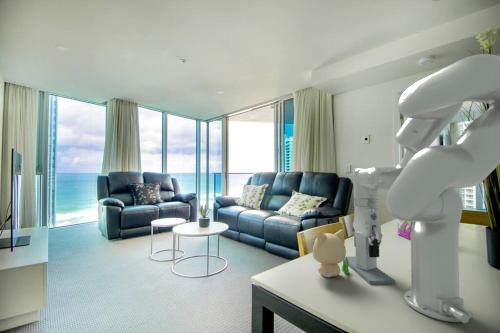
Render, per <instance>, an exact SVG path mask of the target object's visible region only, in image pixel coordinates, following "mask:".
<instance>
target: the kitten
mask: <svg viewBox="0 0 500 333" xmlns="http://www.w3.org/2000/svg"><path fill="white" fill-rule="evenodd" d="M345 234H346V233H345V229H344V228H341V229H339V230H338V231H337V232H334V233H327V232H326V233H323V232H322V231H319V230H318V232H317V237H316V238H315V240H314V241H313V244H312V245H313V246H312V256H313V259H314V260H315V261H316V262H318V263H320V265H319V266H318V269H317V270H318V274H320V275H322V276H323V277H326V278H331V277H337V276H339V275H340V274H341V269H342V271H343V272H344V274H345V275H349V273H350V271H349V267H350V266H349V261H348V259H347V258H346V260H345V262H344V261H343V260H344V258H345V257H347V256H346V255H347V250H346V245H345V244H346V240H345ZM340 263H342V268H341V269H340V266H339V264H340Z"/></svg>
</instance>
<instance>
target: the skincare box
mask: <svg viewBox="0 0 500 333" xmlns="http://www.w3.org/2000/svg"><path fill="white" fill-rule="evenodd" d="M374 239H375V238H372V241H373V240H374ZM369 245H370V242H369V240H368V238H367V237H365V236H363V234H362V233H360V232H355V246H354V247H355V248H354V249H355V256H356V267H358V268H361V269H363V270H370V269H373V268H376V267H377V266H378V264H377V260H378V259H377V258H378V257H369ZM377 268H378V267H377Z"/></svg>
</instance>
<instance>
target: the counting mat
mask: <svg viewBox="0 0 500 333" xmlns="http://www.w3.org/2000/svg"><path fill="white" fill-rule="evenodd" d="M346 258H347V259H348V261H349V266H348V267H349V268H350V269H352V270H353V271H354V272H355V273H356V274H357V275H358V276H360V277H361V278H362V279H363V280H364V281H365V282H366V283H367V284H369V285H396V280H395V279H394V278H392V277H391V276H389V275H388V274H387V273H385V272H384V271H382V270H381V269H380V268H378V267H376V268H373V269H370V270H363V269H361V268H358V267H356V255H355V256H345V258H344V260H343V261H344V262H345V260H346ZM343 261H342V262H343Z"/></svg>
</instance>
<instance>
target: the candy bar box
mask: <svg viewBox="0 0 500 333" xmlns="http://www.w3.org/2000/svg"><path fill="white" fill-rule="evenodd" d="M413 223H414V221H402V220H399V219H397V235H398V236H400V237H403V238H404V237H405V238H404V239H407V240H409V241H411V229H412V225H413Z"/></svg>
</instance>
